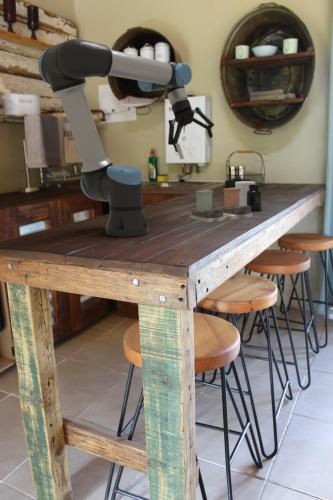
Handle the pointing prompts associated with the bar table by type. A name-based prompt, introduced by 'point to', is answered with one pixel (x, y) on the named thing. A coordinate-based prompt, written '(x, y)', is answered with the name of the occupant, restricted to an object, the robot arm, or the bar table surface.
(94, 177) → the robot arm
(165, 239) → the bar table surface
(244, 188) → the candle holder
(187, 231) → the bar table surface
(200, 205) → the green container
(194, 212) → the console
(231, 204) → the terracotta rectangular container
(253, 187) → the supplement bottle
